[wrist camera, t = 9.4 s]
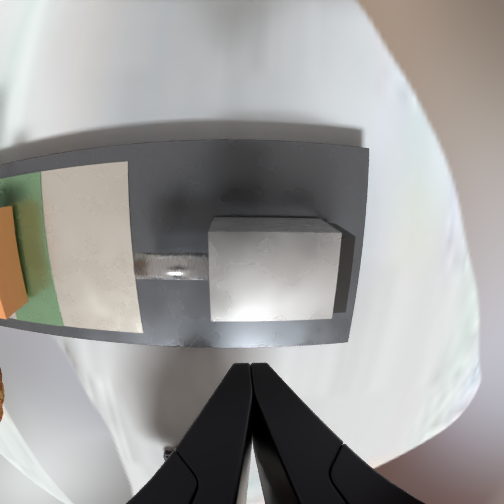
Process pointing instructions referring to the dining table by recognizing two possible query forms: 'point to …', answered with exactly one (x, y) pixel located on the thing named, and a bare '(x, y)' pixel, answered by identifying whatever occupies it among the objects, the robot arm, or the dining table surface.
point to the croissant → (1, 396)
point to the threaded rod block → (265, 268)
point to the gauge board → (168, 234)
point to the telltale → (10, 267)
